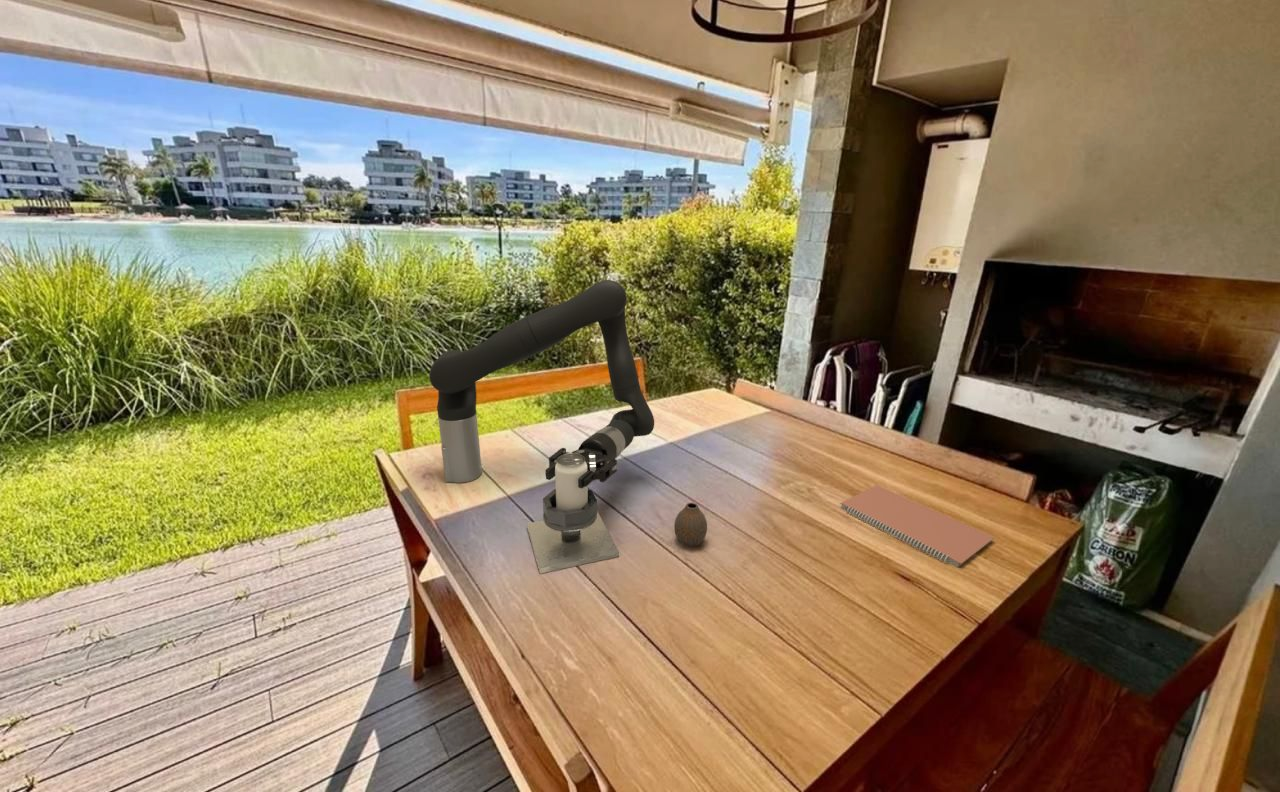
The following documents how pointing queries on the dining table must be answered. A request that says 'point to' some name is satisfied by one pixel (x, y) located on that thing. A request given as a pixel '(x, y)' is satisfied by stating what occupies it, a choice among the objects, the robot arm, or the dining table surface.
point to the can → (570, 482)
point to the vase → (690, 525)
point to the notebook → (917, 525)
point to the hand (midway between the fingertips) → (563, 479)
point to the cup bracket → (570, 536)
